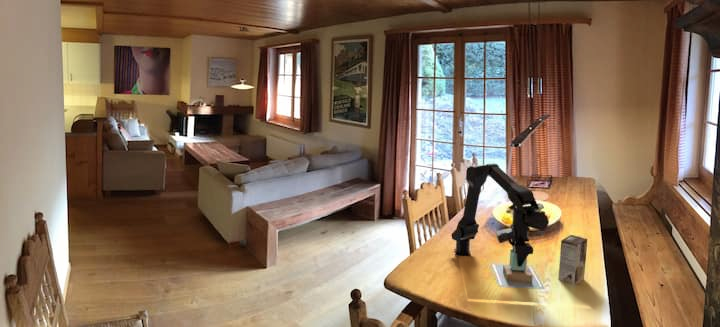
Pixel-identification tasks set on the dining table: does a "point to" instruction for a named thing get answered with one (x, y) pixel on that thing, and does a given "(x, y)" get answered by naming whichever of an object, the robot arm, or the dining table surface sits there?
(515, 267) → the teal block
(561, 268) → the coffee box
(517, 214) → the robot arm
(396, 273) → the dining table surface
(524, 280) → the plinth
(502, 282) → the board
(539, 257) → the dining table surface
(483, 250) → the dining table surface
